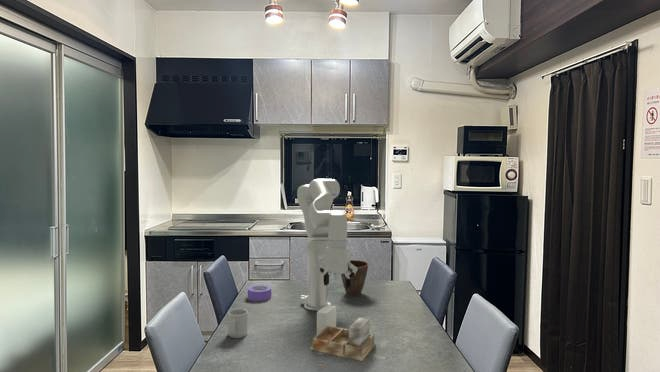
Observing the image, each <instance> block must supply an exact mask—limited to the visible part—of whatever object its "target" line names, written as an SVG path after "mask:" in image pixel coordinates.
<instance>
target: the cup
mask: <svg viewBox="0 0 660 372" xmlns="http://www.w3.org/2000/svg"><path fill="white" fill-rule="evenodd" d="M248 312H249V311H248V310H247V309H245V308H235V309H234V308H233V309H231V310H228V336H229V337H230V338H232V339H238V338H239V339H240V338H243V337H246V336H247V334H248V318H249V317H248V314H249V313H248Z"/></svg>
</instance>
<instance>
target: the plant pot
mask: <svg viewBox="0 0 660 372" xmlns="http://www.w3.org/2000/svg"><path fill="white" fill-rule="evenodd" d="M350 263H351V264H353V265H354V266H356V267H357V268H358V270H357V272H356V274H355V275H354V276H353V277H352V278H351V286H350V288H348V289H346V279H347V277H346V276H345V274H340V276H341V280H342V285H343V287H344V291H345V293H346V295H347V296H350V295H351V296H350V297H357V295H358V296H360V295H361V293H362V291H363V289H364V286H365V282H366V279H367V276H368V275H367V274H368V268H369V263H368V262H367V261H362V260H357V259H356V260H355V259H354V260H353V259H352V260H351V259H350ZM352 271H353V269H351V268H350V272H351V273H352Z"/></svg>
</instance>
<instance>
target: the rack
mask: <svg viewBox="0 0 660 372" xmlns="http://www.w3.org/2000/svg"><path fill="white" fill-rule="evenodd" d="M376 342H377V341H375V334H374V333H370V319H369V318H364V317H358V318H357V319H356V320H355V321H354V322H353V323H352V324H351V325H350V326H349V327H348V328H343V327H337V326H336V327H333V326H327V327H326V328H325V329H323V330H322V331H321V332H320V333H319V334H317V333H316V335H315V336H314V337H313V338H312V339H311V343H312V344H311V346H310V350H311V351H315V352H319V353H323V354H328V355H332V356H333V355H334V356H338V357H342V358H346V359H352V360H355V361H360V362H363V361H364V359H365V358H366V357H367V355H368V354H369V353H370V352H371V351H372V350H373V348H374V347H375V346H376Z"/></svg>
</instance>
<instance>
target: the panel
mask: <svg viewBox="0 0 660 372" xmlns="http://www.w3.org/2000/svg"><path fill="white" fill-rule="evenodd" d="M327 326H333V327H337V305H334V304H331V305H328V304H327V305H326V306H325V307H323V308H322V309H320V310H319V311H316V335H317V334H319V333H320V332H321V331H322V330H323V329H325V328H326V327H327Z"/></svg>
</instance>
